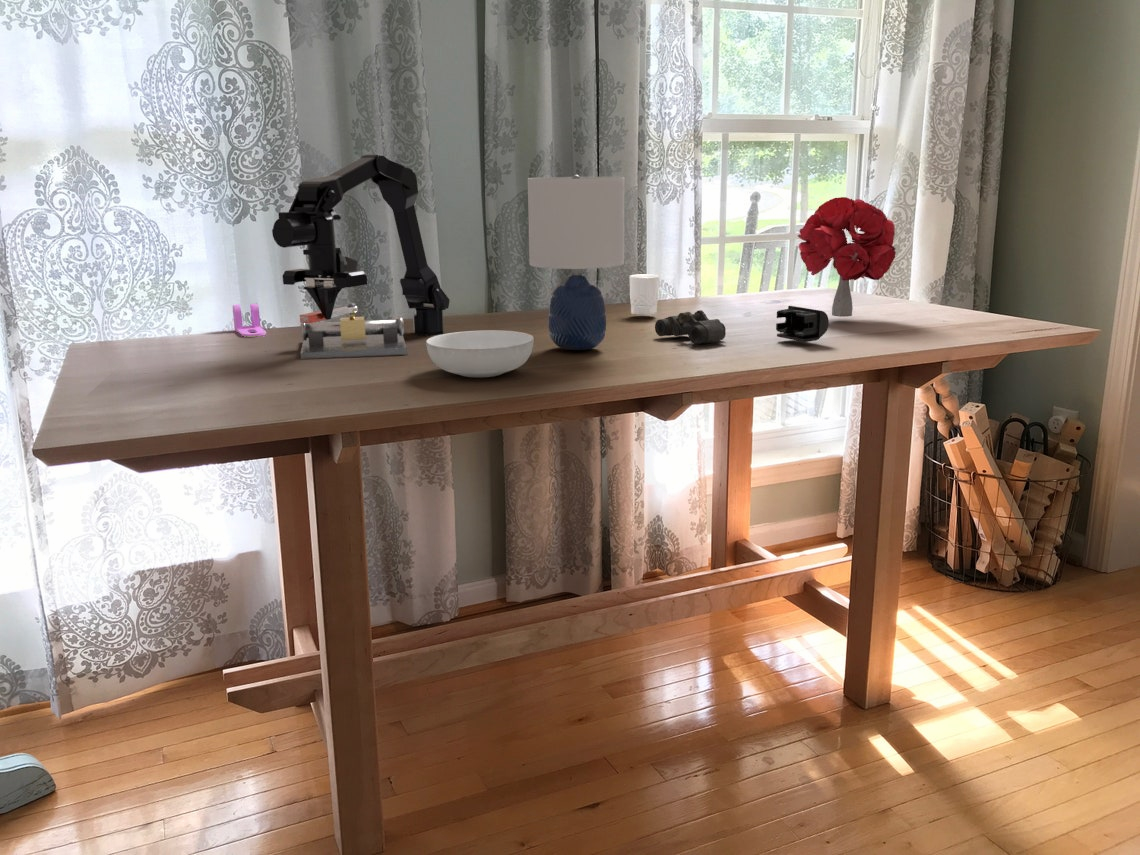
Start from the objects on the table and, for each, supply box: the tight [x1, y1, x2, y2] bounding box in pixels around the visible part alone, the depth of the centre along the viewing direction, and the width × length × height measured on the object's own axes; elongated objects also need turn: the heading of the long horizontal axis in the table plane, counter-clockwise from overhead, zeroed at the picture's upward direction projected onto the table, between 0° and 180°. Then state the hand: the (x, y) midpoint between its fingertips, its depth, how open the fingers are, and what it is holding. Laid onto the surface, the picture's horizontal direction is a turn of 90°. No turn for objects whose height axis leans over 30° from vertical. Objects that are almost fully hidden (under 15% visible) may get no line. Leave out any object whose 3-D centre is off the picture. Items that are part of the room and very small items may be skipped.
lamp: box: [527, 174, 625, 351], centre depth 208 cm, size 20×20×37 cm
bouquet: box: [797, 196, 897, 318], centre depth 248 cm, size 22×24×30 cm
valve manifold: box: [300, 312, 408, 360], centre depth 213 cm, size 22×20×8 cm
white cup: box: [629, 273, 660, 316], centre depth 257 cm, size 8×8×10 cm
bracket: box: [232, 303, 267, 336], centre depth 232 cm, size 13×6×7 cm, turn 27°
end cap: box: [775, 305, 830, 343], centre depth 221 cm, size 10×7×7 cm
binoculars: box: [654, 309, 727, 344], centre depth 224 cm, size 11×16×6 cm
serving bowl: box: [425, 329, 535, 378], centre depth 188 cm, size 21×21×7 cm
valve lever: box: [299, 302, 359, 324], centre depth 206 cm, size 16×3×2 cm, turn 153°
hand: (328, 319), depth 202 cm, fingers closed
